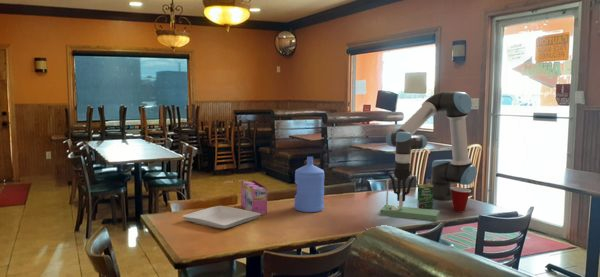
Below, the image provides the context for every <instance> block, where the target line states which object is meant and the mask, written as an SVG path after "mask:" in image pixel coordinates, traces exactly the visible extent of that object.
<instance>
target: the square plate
mask: <svg viewBox="0 0 600 277" xmlns="http://www.w3.org/2000/svg"><path fill="white" fill-rule="evenodd" d="M260 216H261V213H256V212H252V211H247V210H246V209H244V208H243V209H242V208H237V207H232V206H226V205H225V206H224V205H216V206H213V207H208V208H205V209H204V208H203V209H200V210H197V211H194V212H190V213H187V214H183V215H181V217H182V218H183V219H184V220H186V221H187V222H191V223H195V224H197V225H201V226H206V227H211V228H216V229H223V230H224V229H225V230H226V229H230V228H233V227H236V226H239V225H241V224H244V223H247V222H250V221H253V220H255V219H257V218H259V217H260Z"/></svg>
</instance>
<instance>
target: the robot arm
mask: <svg viewBox="0 0 600 277" xmlns="http://www.w3.org/2000/svg"><path fill="white" fill-rule="evenodd" d="M472 105H473V103H472V98H471V96H470V95H469V94H468V93H466V92H464V91H440V92H436V93H435V94H433V95H431V96H430V97H428V98H426V100H425V101H423V102H422V104H421V107H419V109H417V110H416V111H415V113H414V114H413V115H411V116H410V117H409V119H407V121H405V122H404V123H403V124H402V125H401V126H400V127H399V128H398V129H396V131H395V132H393V131H392V132H388V134H387V135H386V137H385V142H386V145H387V146H389V147H394V148H395V157H394V158H395V159H394V161H395V162H394V171H393V173H391V174H389V178H390V181H391V185H392V190H393V193H394V194H396V196H397V197H396V200H397V202H398V206H399V208H402V207H404V202H405V201H406V195H409V194H410V190H411V188H412V184H413V181H414V179H416V177H415V176H414V175H412V173H411V163H410V162H411V154H412V152H411V151H414V150H423V149H425V148H426V147H427V145H428V139H427V137H426V136H425V135H423V134H415V133H416V132H417V131H418V130H419V129H420V128H421V127H422V126H423V125H424V124H425V123H426V122H427V121H428V120H429V119H430V118H431V117H433V116H436V114H438V113H445V116H446V118H447V119H449V130H450V141H451V143H450V144H451V151H452V159H436V160H433V161H432V163H431V164H432V165H431V179H430V180H431V182H430V184H432V185H433V200H437V201H439V200H441V201H451V200H452V194H451V189H450V188H451V187H452V184H453V183H454V184H458V185H466V186H469V185H471V184H473V182H474V181H475V179H476V177H477V173H478V170H477V167H476V166H475V165H473V163H472V160H471V158H469V149H468V147H469V146H468V137H467V136H468V135H467V123H466V118H467V117H468V115H469V113H470V111H471V110H472V107H473V106H472ZM408 178H409V182H408V185H407V180H408ZM395 179H397V185H396V180H395ZM406 186H407V187H406ZM401 187H402V188H401ZM401 189H402V190H401ZM401 192H402V193H401Z"/></svg>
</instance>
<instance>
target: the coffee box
mask: <svg viewBox="0 0 600 277" xmlns="http://www.w3.org/2000/svg"><path fill="white" fill-rule="evenodd" d="M433 204H434V199H433V185H432V184H431V183H428V184H426V183H425V184H417V204H416V205H417V207H416V208H420V209H434V208H433V207H434V205H433Z"/></svg>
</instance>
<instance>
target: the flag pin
mask: <svg viewBox="0 0 600 277" xmlns="http://www.w3.org/2000/svg"><path fill="white" fill-rule="evenodd" d="M385 186H386V196H385V198H386V200H385V201H386V202H385V205H386V206H388V205H389V204H388V203H389V179H386V181H385Z"/></svg>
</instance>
